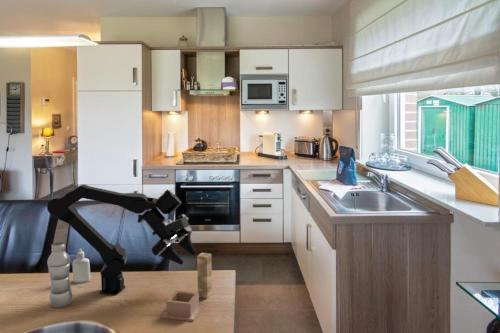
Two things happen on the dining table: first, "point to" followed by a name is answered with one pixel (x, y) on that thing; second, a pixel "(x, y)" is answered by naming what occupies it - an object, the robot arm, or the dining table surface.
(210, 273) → the wooden block
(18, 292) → the dining table surface
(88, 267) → the eye dropper bottle
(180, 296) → the holder cup
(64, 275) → the plastic bottle
